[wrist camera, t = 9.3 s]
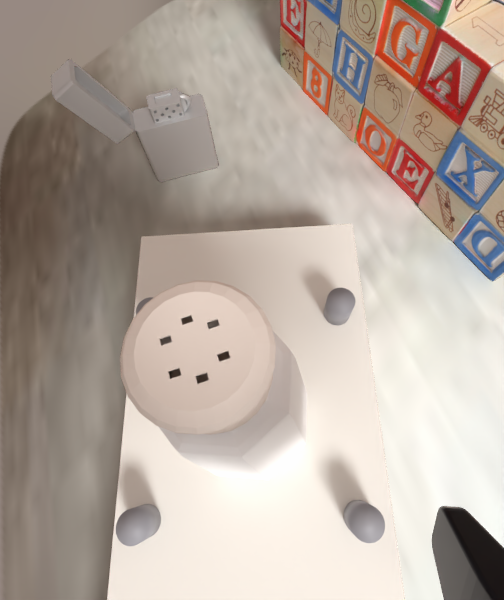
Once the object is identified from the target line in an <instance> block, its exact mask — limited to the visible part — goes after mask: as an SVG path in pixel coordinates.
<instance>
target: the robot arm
mask: <svg viewBox="0 0 504 600" xmlns="http://www.w3.org/2000/svg"><path fill="white" fill-rule="evenodd" d="M432 548H433V553H434V557H435V562H436V566H437V571H438V575H439V580H440V584H441V589H442V593H443V597H444V600H504V548H503V547H502V546H501V545H500V544H499V543H498V542H497V541H496V540H495V539H494V538H493V537H492V536H491V535H490V534H489V532H488V531H487V530H486V529H485V528H484V527H483V526H482V525H481V524H480V523H479V522H478V521H477V520H476V519H475V518H474V517H473V516H472V515H471V514H470V513H469V512H468V511H466V510H465V509H463V508H461V507H449V506H442V507H440V508H439V510H438V513H437V517H436V521H435V526H434V530H433V534H432Z"/></svg>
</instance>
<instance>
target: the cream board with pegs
mask: <svg viewBox="0 0 504 600" xmlns="http://www.w3.org/2000/svg"><path fill="white" fill-rule="evenodd" d="M196 280H204V281H218V282H221V283H225V284H228V285H231V286H234V287H236V288H237V289H239V290H241V291H242V292H244V293H246V294H247V295H249V296H250V297H251V298H252V299H253V300H254V301H255V302H256V303H257V304H258V305H259V306H260V307H261V308H262V309H263V311H264V313H265V315H266V317H267V319H268V321H269V322H270V324H271V326H272V330H273V332H274V333H275V334H276V335H277V336H278V337H279V338H280V339H281V340H282V341H283V342H284V343H285V344H286V346H287V347H288V348H289V349H290V350H291V352H292V353H293V355H294V356H295V358H296V361H297V364H298V367H299V370H300V373H301V376H302V379H303V382H304V385H305V388H306V391H307V427H306V445H305V446H304V447H303V448H302V449H301V450H300V451H299V452H298V453H297V454H296V455H294V456H293V457H292V458H291V459H290V460H289V461H288V462H287V463H286V464H285V465H284V466H283V467H282V468H281V469H280V470H279V471H278V472H277V473H276V474H275V475H274V476H273V477H272V478H270V479H269V480H258V479H246V478H234V477H222V476H216V475H214V474H213V473H211V472H209V471H207V470H205V469H204V468H202V467H200V466H198V465H196V464H195V463H193V462H191V461H189V460H187V459H186V458H184V457H183V456H182V455H181V454H180V453H178V451H177V450H176V449H175V448H174V447H173V445H172V444H171V443H170V441H169V440H168V439H167V437H166V436H165V435H164V433H163V432H162V431H161V429H160V428H159V426H156V425H155V424H153V423H152V422H151V421H150V420H148V419H147V418H146V417H144V416H143V415H142V414H140V413H139V411H138V410H137V409H136V407H135V406H134V404H133V403H132V402H131V400H130V399H129V397H128V396H127V394H126V405H125V415H124V426H123V437H122V447H121V458H120V468H119V479H118V490H117V500H116V511H115V521H114V532H113V543H112V553H111V564H110V574H109V585H108V596H107V600H405V595H404V588H403V580H402V573H401V566H400V559H399V552H398V545H397V538H396V530H395V523H394V516H393V509H392V502H391V495H390V488H389V481H388V473H387V466H386V459H385V452H384V445H383V438H382V431H381V424H380V416H379V409H378V402H377V395H376V388H375V381H374V374H373V366H372V359H371V352H370V345H369V338H368V331H367V324H366V317H365V309H364V302H363V295H362V288H361V281H360V274H359V267H358V259H357V252H356V245H355V238H354V231H353V224H339V225H322V226H306V227H290V228H273V229H257V230H240V231H224V232H208V233H191V234H175V235H159V236H142V237H141V246H140V256H139V267H138V278H137V288H136V299H135V309H134V317H135V316H136V315H137V314H138V312H139V311H140V310H141V309H142V307H143V306H144V305H145V304H146V303H147V302H149V301H150V300H151V299H152V298H154V297H155V296H156V295H158V294H159V293H160V292H162V291H164V290H166V289H169V288H171V287H173V286H175V285H177V284H181V283H186V282H191V281H196Z"/></svg>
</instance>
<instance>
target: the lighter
mask: <svg viewBox="0 0 504 600" xmlns="http://www.w3.org/2000/svg"><path fill="white" fill-rule="evenodd" d="M51 83H52V95H53V97H54V98H55V100H56V101H58V102H59V103H61V104H62V105H63V106H65V107H66V108H68V109H69V110H70V111H72V112H73V113H75V114H76V115H77V116H79V117H80V118H81V119H83V120H84V121H86V122H87V123H88V124H90V125H91V126H93V127H94V128H95V129H97V130H98V131H100V132H101V133H102V134H104V135H105V136H107V137H108V138H109V139H111V140H112V141H114V142H115V143H116V144H118V143H120V142H121V141H122V140H124V139H125V138H126V137H128V136H129V135H130V134H132V133H133V132H134V131H136V133H137V135H138V138H139V140H140V142H141V144H142V146H143V149H144V151H145V153H146V155H147V157H148V160H149V162H150V164H151V166H152V168H153V171H154V173H155V175H156V177H157V179H158V181H160V182H163V181H167V180H171V179H175V178H178V177H182V176H186V175H190V174H194V173H198V172H202V171H206V170H210V169H214V168H217V167H218V165H219V163H218V159H217V154H216V150H215V145H214V141H213V136H212V132H211V127H210V123H209V119H208V114H207V110H206V107H205V103H204V100H203V96H202V95H201V94H196V95H192V96H188V95H186V94H183V93H182V92H180V91H178V89H177V88H174V89H170V90H166V91H162V92H158V93H154V94H150V95H147V97H146V98H147V103H148V107H144V108H140V109H136V110H134V111H133V112H132V111H131V110H130V108H128V107H127V106H126V105H125V104H124V103H122V102H121V101H120V100H119V99H118V98H117V97H115V96H114V95H113V94H112V93H111V92H109V91H108V90H107V89H106V88H105V87H103V86H102V85H101V84H100V83H99V82H98V81H96V80H95V79H94V78H93V77H92V76H90V75H89V74H88V73H87V72H86V71H84V70H83V69H82V68H81V67H80V66H79V65H77V64H76V63H75V62H74V61H73V60H71V59H68V60H67V61H66V62H65V63H64V64H63V65H62V66H61V67H60V68H59V69H58V70H57V71H56V72H54V74H52V75H51Z"/></svg>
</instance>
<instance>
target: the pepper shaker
mask: <svg viewBox="0 0 504 600" xmlns="http://www.w3.org/2000/svg"><path fill="white" fill-rule="evenodd" d="M120 367H121V378H122V381H123V384H124V387H125V390H126V393H127V396H128V397H129V399H130V400H131V402H132V403H133V404H134V406H135V407H136V409H137V410H138V411H139V413H140V414H142V415H143V416H144V417H146V418H147V419H148V420H150V421H151V422H152V423H153V424H155V425H156V426H159V428H160V429H161V431H162V432H163V433H164V435H165V436H166V437H167V439H168V440H169V441H170V443H171V444H172V445H173V447H174V448H175V449H176V450H177V451H178V453H180V454H181V455H182V456H183V457H184V458H186V459H187V460H189V461H191V462H193V463H195V464H196V465H198V466H200V467H202V468H204V469H205V470H207V471H209V472H211V473H213V474H214V475H216V476H222V477H234V478H246V479H258V480H269V479H270V478H272V477H273V476H274V475H275V474H276V473H277V472H278V471H279V470H280V469H281V468H282V467H283V466H284V465H285V464H286V463H287V462H288V461H289V460H290V459H291V458H292V457H293V456H294V455H296V454H297V453H298V452H299V451H300V450H301V449H302V448H303V447H304V446H305V445H306V427H307V391H306V388H305V385H304V382H303V379H302V376H301V373H300V370H299V367H298V364H297V361H296V358H295V356H294V355H293V353H292V352H291V350H290V349H289V348H288V347H287V346H286V344H285V343H284V342H283V341H282V340H281V339H280V338H279V337H278V336H277V335H276V334H275V333H274V332H273V330H272V326H271V324H270V322H269V321H268V319H267V317H266V315H265V313H264V311H263V309H262V308H261V307H260V306H259V305H258V304H257V303H256V302H255V301H254V300H253V299H252V298H251V297H250V296H249V295H247V294H246V293H244V292H242V291H241V290H239V289H237V288H236V287H234V286H231V285H228V284H225V283H221V282H218V281H204V280H196V281H191V282H186V283H181V284H177V285H175V286H173V287H171V288H169V289H166V290H164V291H162V292H160V293H159V294H158V295H156V296H155V297H154V298H152V299H151V300H150V301H149V302H147V303H146V304H145V305H144V306H143V307H142V309H141V310H140V311H139V312H138V314H137V315H136V316H135V317H134V319H133V320H132V322H131V324H130V326H129V328H128V330H127V332H126V334H125V337H124V340H123V345H122V350H121V355H120Z"/></svg>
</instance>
